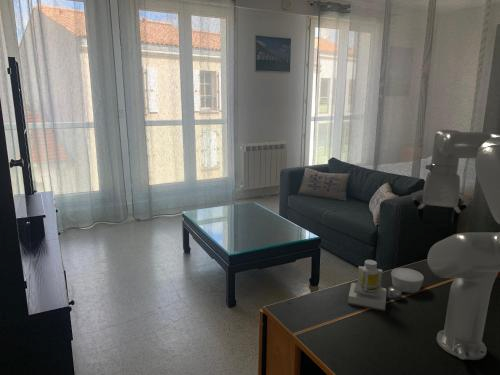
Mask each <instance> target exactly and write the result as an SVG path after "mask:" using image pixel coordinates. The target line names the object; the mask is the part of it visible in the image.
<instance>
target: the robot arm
mask: <svg viewBox="0 0 500 375" xmlns="http://www.w3.org/2000/svg"><path fill="white" fill-rule="evenodd" d="M460 159H475V161H474V169H475V174H476V177H477V180H478V182H479V186H480V188H481V190H482V193H483V195H484V198H485V201H486V203H487V206H488V208H489V211H490V213H491V216H492V217H493V219H494V221H495V222H496V223H497V224H499V225H500V134H496V133H491V132H482V131H481V132H480V131H465V132H464V131H459V130H455V129H454V130H453V129H439V130H437V131H436V132H435V134H434V140H433V148H432V156H431V163H430V164H426V165H425V170H428V171H429V172H428V173H427V174H426V177H425V181H424V185H423V189H421V190H418V191H415V192H412V193H411V194H410V198H411V201H412V202H413V204H414V205H415V206H416V207H417V216H416V217H417V218H418V219H419V220H418V221H419V222H422V221H423V217H424V216H423V215H424V207H426V206H432V207H433V206H434V207H444V208H453V210H452V216H451V223H452V225H454V226H456V223H458V221H459V216H460V213H461V212H462V211H464V210H465V209H467V207H468V206H469V205H470V204H471V203H472V200H471V199H470V198H469V197H467V196H465V195H464V194H462V193H460V191H461V178H460V175H459V174H458V170H459V163H460ZM420 196H421V197H422V198H421V199H422V200H421V201H419V200H417V197H420ZM460 199H461V200H462V201H463V203H461V204H460V205H459V200H460ZM458 205H459V206H458ZM427 265H428V267H429V269H430V271H431V273H433V274H434V275H435V276H437V277H439V278H442V279H443V278H444V279H454V280H453V281H452V283H451V286H450V288H449V289H450V290H449V294H448V302H447V308H446V312H445V313H446V315H445V322H444V329H443V330H439V331H438V332H437V335H436V343H437V344H438V345H439V347H441V349H443V350H444V351H445V352H447V353H448V354H450V355H452V356H454V357H457V358H459V359H460V360H467V361H468V360H470V361H478V360H482V359H484V357H486V355H487V347H486V345H485V343H484V342H483V338H484V337H483V336H484V332H485V325H486V320H487V314H488V309H489V308H488V307H489V304H490V297H491V293H492V291H493V285H494V283H495V281H496V279H497V276H498V274H499V272H500V231H499V232H495V231H494V232H493V231H492V232H491V231H490V232H489V231H487V232H486V231H483V232H482V231H481V232H475V231H474V232H472V231H471V232H458V233H455V234H452V235H450V236H448V237H446V238H443V239H442V240H439V241H438V242H435V243H434V244H433V245H432V246H431V247H430V249H429V251H428V254H427Z"/></svg>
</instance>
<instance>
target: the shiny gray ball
mask: <svg viewBox="0 0 500 375" xmlns="http://www.w3.org/2000/svg"><path fill="white" fill-rule="evenodd" d="M387 297H388V298H389V299H391V300H395V301H399V300H401V299H402V289H401V288H399V287H396V286H393V285H390V286H389V287H388V291H387Z"/></svg>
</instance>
